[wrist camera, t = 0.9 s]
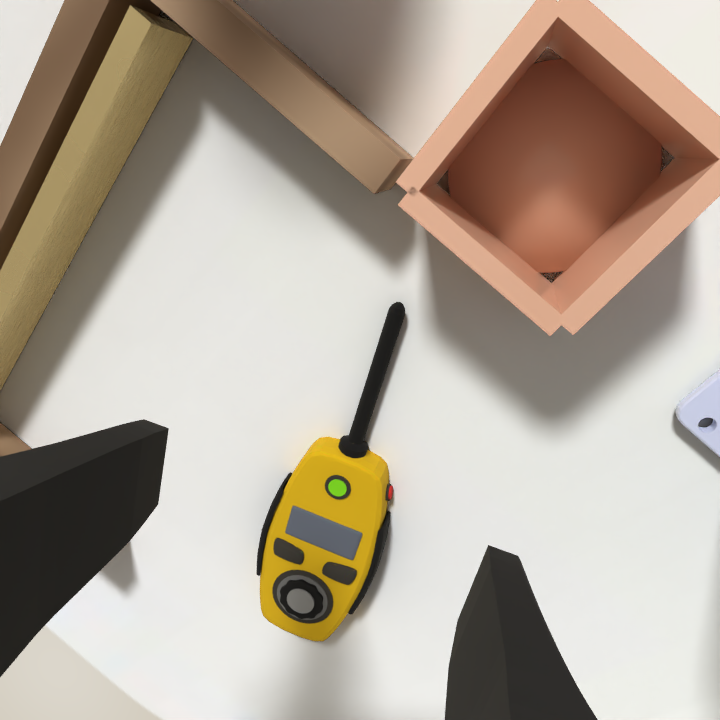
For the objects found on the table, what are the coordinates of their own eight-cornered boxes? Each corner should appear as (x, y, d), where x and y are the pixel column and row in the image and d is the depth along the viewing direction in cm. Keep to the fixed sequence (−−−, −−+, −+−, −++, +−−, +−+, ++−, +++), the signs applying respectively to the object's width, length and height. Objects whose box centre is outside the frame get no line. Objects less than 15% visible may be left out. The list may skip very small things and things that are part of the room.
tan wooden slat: (193, 38, 19) (151, 23, 17) (-8, 405, 26) (-56, 428, 24) (173, 21, 19) (130, 5, 17) (-22, 393, 26) (-71, 415, 24)
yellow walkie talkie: (234, 618, 25) (323, 286, 19) (252, 587, 27) (339, 274, 21) (341, 664, 24) (466, 336, 19) (353, 630, 26) (470, 319, 21)
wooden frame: (414, 158, 19) (400, 159, 17) (115, 543, 27) (78, 579, 25) (157, -66, 19) (107, -96, 16) (-65, 393, 27) (-119, 415, 25)
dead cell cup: (704, 154, 17) (762, 154, 13) (551, 306, 19) (562, 346, 15) (546, 14, 17) (557, -28, 13) (411, 186, 19) (385, 194, 15)
